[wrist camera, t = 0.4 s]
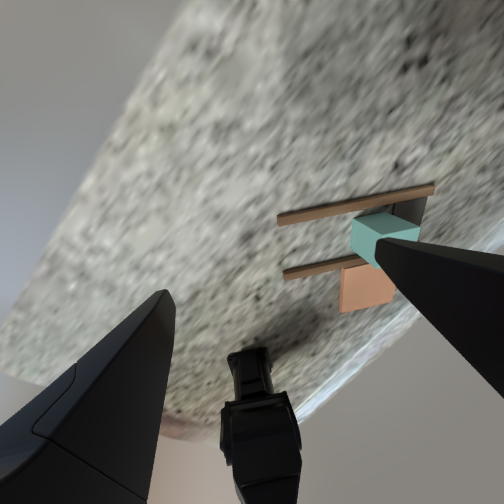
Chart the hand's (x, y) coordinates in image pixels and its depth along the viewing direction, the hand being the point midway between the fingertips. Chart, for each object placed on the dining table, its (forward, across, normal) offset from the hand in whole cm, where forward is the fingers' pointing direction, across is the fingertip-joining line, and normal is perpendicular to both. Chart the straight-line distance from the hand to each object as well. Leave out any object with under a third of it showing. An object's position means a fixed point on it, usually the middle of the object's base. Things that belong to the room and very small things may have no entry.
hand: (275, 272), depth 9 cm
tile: (+14, -15, +16) cm, 26 cm away
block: (+14, -14, +7) cm, 21 cm away
